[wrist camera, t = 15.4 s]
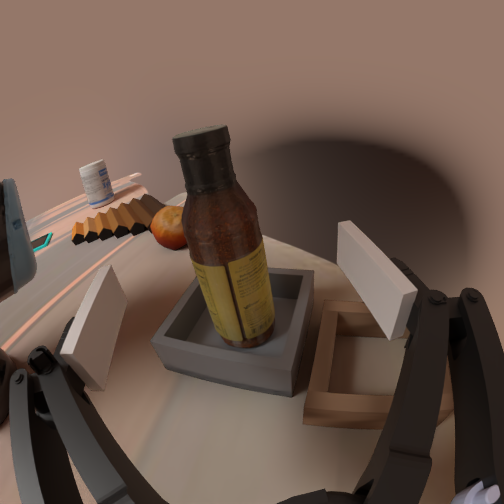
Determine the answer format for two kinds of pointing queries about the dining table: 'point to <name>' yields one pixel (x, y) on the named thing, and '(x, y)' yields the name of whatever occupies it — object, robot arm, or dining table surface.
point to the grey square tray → (240, 359)
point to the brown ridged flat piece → (118, 221)
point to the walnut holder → (350, 405)
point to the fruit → (169, 227)
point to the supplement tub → (97, 184)
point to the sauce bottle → (224, 239)
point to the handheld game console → (41, 242)
